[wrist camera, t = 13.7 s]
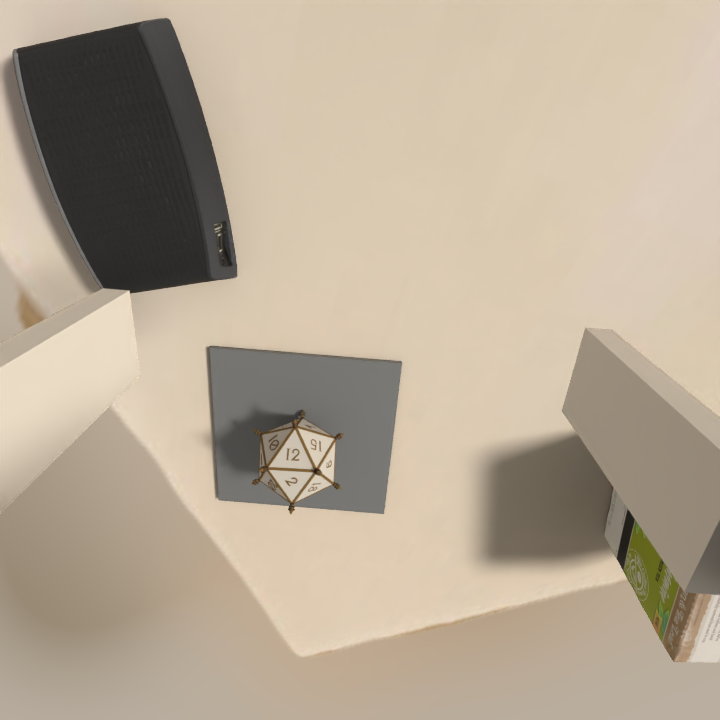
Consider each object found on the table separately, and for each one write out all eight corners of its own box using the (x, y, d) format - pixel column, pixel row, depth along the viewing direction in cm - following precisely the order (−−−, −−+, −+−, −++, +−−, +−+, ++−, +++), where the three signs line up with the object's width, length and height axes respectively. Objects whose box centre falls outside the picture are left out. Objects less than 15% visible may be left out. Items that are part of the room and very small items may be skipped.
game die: (315, 431, 53) (306, 527, 48) (243, 410, 49) (225, 513, 44) (365, 408, 47) (359, 515, 42) (287, 381, 42) (271, 498, 38)
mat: (211, 345, 46) (209, 347, 45) (401, 361, 46) (401, 363, 45) (219, 497, 53) (218, 500, 53) (383, 510, 53) (383, 513, 53)
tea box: (621, 418, 47) (718, 528, 34) (728, 415, 47) (869, 525, 33) (599, 536, 54) (673, 668, 40) (694, 534, 53) (801, 668, 40)
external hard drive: (110, 294, 45) (85, 308, 41) (18, 50, 37) (-23, 40, 33) (247, 274, 43) (234, 287, 40) (182, 17, 36) (159, 3, 32)
